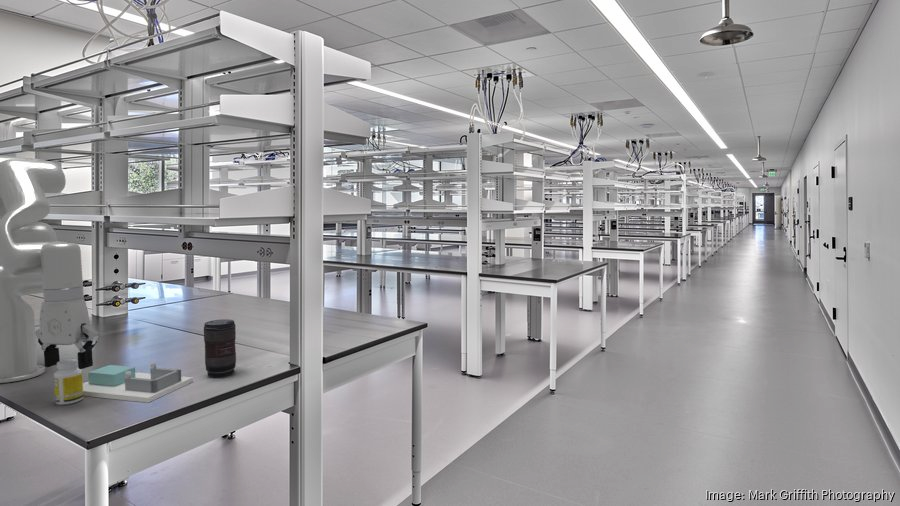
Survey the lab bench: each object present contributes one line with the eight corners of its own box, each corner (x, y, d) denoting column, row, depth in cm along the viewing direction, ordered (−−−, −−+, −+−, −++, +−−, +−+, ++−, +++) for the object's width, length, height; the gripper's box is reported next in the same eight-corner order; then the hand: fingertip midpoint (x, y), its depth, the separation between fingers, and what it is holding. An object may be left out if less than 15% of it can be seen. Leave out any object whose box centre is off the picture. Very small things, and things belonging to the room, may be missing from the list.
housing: (88, 383, 129) (88, 372, 128) (110, 375, 135) (109, 364, 135) (114, 386, 127) (114, 374, 127) (135, 378, 133) (135, 367, 133)
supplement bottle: (88, 396, 123) (86, 357, 122) (72, 405, 118) (70, 364, 117) (66, 396, 123) (63, 357, 122) (49, 405, 118) (46, 364, 117)
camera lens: (240, 368, 146) (238, 318, 144) (232, 378, 138) (230, 324, 136) (210, 370, 144) (208, 318, 143) (201, 379, 136) (199, 325, 135)
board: (66, 393, 125) (65, 371, 124) (118, 374, 140) (117, 354, 139) (148, 402, 120) (147, 379, 119) (192, 381, 134) (192, 361, 134)
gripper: (18, 297, 116) (23, 369, 117) (79, 298, 113) (84, 373, 114) (50, 292, 124) (55, 360, 125) (108, 293, 120) (112, 363, 121)
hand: (69, 366), depth 119 cm, fingers open, 9 cm apart
